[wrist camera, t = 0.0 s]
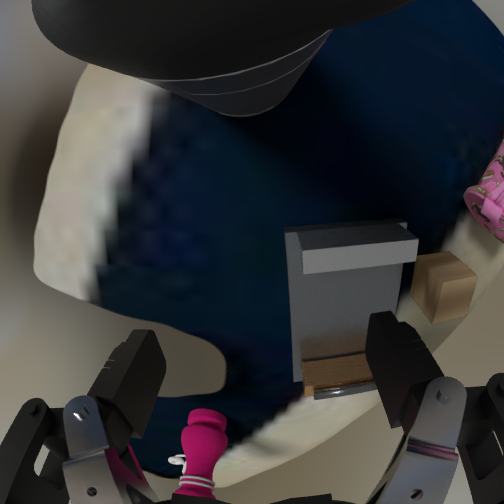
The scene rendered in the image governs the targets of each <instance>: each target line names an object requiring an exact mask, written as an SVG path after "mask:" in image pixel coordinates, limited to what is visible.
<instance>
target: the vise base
mask: <svg viewBox="0 0 504 504" xmlns="http://www.w3.org/2000/svg"><path fill="white" fill-rule="evenodd" d="M284 235H285V248H286V260H287V274H288V289H289V305H290V322H291V341H292V363H293V380H294V382H297V381H303V379H302V362H309V361H317V360H325V359H332V358H339V357H346V356H352V355H358V354H364V353H365V344H366V337H367V330H368V323H369V317H370V314H371V313H376V312H382V311H388V310H390V311H392V312H393V314H394V315H395V312H396V307H397V301H398V295H399V289H400V283H401V276H402V269H403V263H405V262H413V261H416V257H417V249H418V241H419V239H418V238H416V237H415V236H414V235H413V234H411V233H410V232H409V231H408V230H407V222H406V221H404V220H403V219H401V218H391V219H378V220H365V221H352V222H340V223H328V224H317V225H306V226H295V227H284Z"/></svg>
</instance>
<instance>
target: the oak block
mask: <svg viewBox="0 0 504 504" xmlns="http://www.w3.org/2000/svg"><path fill="white" fill-rule="evenodd" d="M477 278H478V275H477V274H476V273H475V272H473V271H472V270H471V269H470V268H469V267H468V266H467V265H465V264H464V263H463V262H462V261H461V260H459V259H458V258H457V257H456V256H455V255H453V254H452V253H451V252H450V251H449V252H442V253H434V254H426V255H418V256H417V257H416V261H415V267H414V274H413V280H412V286H411V291H410V295H411V296H412V298H413V299H414V300H415V302H416V303H417V304H418V306H419V307H420V308H421V310H422V311H423V313H424V314H425V315H426V317H427V318H428V319H429V321H430V322H431V324H432V325H433V324H437V323H441V322H445V321H449V320H452V319H456V318H460V317H463V316H466V315H467V312H468V309H469V306H470V302H471V299H472V296H473V292H474V289H475V285H476V281H477Z"/></svg>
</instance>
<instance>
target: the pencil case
mask: <svg viewBox="0 0 504 504" xmlns="http://www.w3.org/2000/svg"><path fill="white" fill-rule="evenodd" d="M463 197H464V200H465V203H466V205H467V207H468V208H469V210H470V212H471V213H472V215H473V216H474V217H475V219H476V220H477V221H478V222H479V223H480V224H481V226H482V227H484V228H485V229H486V230H487V231H488V232H490V233H492V234H493V235H494V236H495V237H496V238H497V239H498V240H500V241H501V242H502V243H504V139H503V141H502V143H501V145H500V147H499V149H498V151H497V153H496V154H495V155H494V157H493V159H492V161H491V162H490V164H489V165H488V167H487V169H486V171H485V172H484V174H483V176H482V177H481V179H480V181H479V183H478V185H475V186H471V187H469V188H467V190H466V191H465V193H464V195H463Z"/></svg>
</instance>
